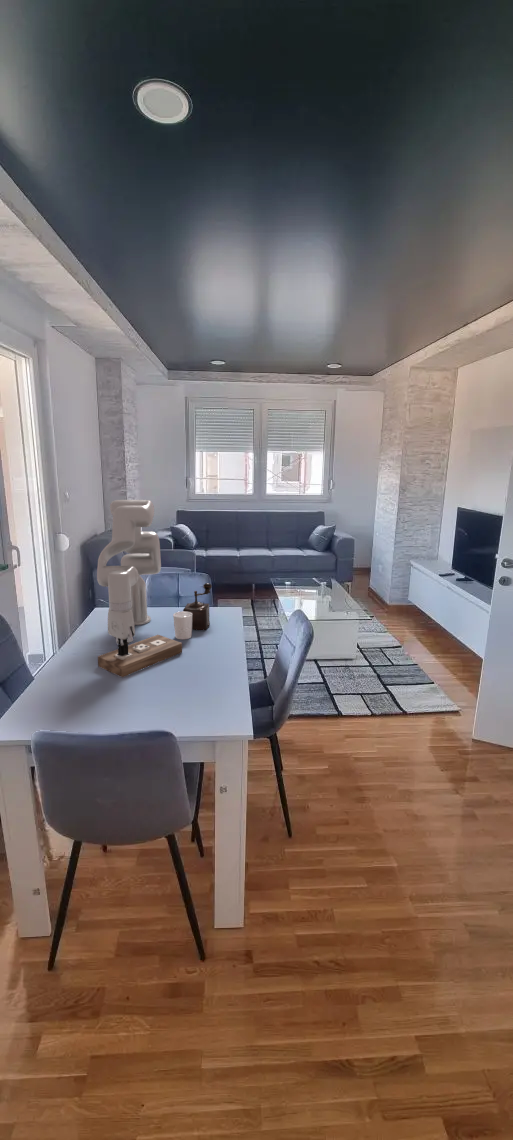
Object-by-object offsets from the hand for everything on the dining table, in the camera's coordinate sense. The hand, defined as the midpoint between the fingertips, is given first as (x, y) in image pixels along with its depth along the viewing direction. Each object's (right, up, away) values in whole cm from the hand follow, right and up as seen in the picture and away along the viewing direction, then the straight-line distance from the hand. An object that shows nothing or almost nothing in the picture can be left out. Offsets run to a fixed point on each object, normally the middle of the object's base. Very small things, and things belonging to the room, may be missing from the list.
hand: (123, 654), depth 173 cm
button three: (+5, -1, +7) cm, 8 cm away
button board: (+5, -3, +7) cm, 9 cm away
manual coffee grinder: (+22, +5, +45) cm, 51 cm away
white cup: (+17, +2, +30) cm, 35 cm away
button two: (0, -3, +1) cm, 3 cm away
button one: (+10, 0, +13) cm, 16 cm away
